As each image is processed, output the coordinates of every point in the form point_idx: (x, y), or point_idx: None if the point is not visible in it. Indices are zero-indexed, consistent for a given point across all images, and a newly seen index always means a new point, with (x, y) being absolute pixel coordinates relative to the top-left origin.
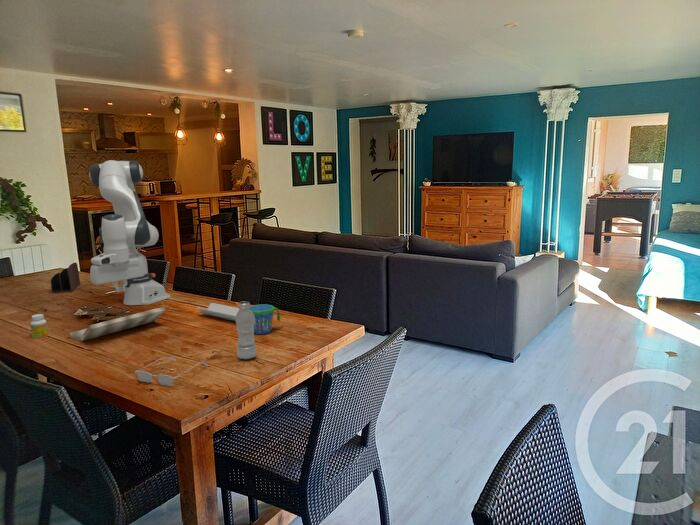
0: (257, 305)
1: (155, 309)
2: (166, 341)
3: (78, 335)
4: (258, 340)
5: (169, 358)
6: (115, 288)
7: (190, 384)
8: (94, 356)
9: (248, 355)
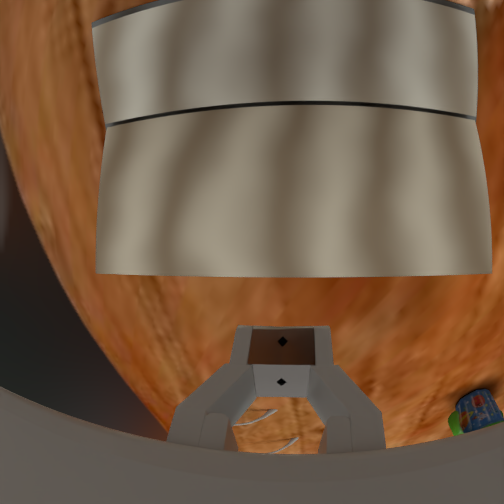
0: None
1: (448, 274)
2: (344, 330)
3: (106, 94)
4: (427, 420)
5: (258, 419)
6: (231, 356)
7: (239, 448)
8: (136, 280)
9: None
